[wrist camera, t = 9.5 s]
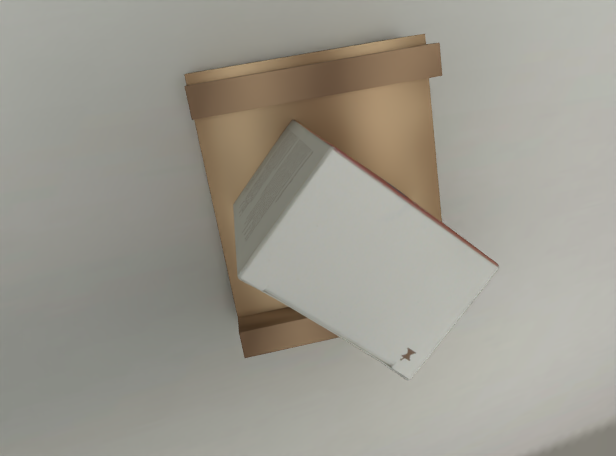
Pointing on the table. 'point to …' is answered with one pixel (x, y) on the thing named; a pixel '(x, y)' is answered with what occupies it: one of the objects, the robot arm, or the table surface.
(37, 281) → the table surface
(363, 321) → the small box
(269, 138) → the wooden tray
